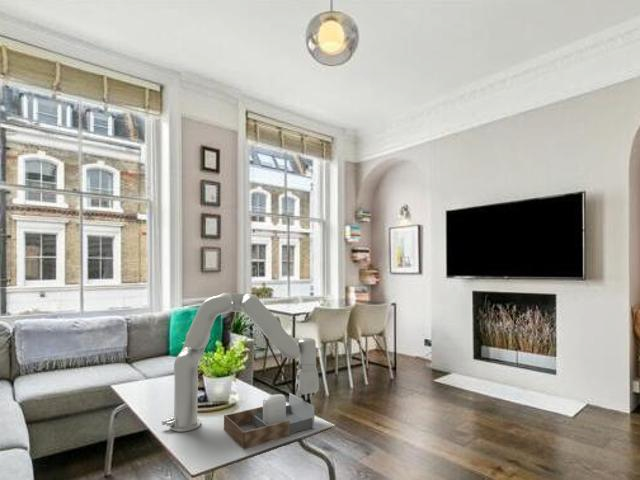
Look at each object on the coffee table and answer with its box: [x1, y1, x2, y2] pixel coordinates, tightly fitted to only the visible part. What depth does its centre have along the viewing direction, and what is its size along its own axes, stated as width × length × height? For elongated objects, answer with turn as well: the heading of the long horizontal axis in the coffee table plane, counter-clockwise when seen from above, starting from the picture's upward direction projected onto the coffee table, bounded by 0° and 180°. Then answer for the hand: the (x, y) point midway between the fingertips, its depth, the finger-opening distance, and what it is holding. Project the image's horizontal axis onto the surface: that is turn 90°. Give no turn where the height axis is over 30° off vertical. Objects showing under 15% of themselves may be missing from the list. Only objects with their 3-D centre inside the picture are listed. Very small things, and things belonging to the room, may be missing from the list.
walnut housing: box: [223, 406, 291, 450], centre depth 166 cm, size 20×20×6 cm
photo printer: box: [262, 393, 287, 425], centre depth 171 cm, size 10×4×12 cm, turn 127°
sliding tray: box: [251, 392, 315, 435], centre depth 173 cm, size 20×20×9 cm
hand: (306, 408), depth 180 cm, fingers closed
